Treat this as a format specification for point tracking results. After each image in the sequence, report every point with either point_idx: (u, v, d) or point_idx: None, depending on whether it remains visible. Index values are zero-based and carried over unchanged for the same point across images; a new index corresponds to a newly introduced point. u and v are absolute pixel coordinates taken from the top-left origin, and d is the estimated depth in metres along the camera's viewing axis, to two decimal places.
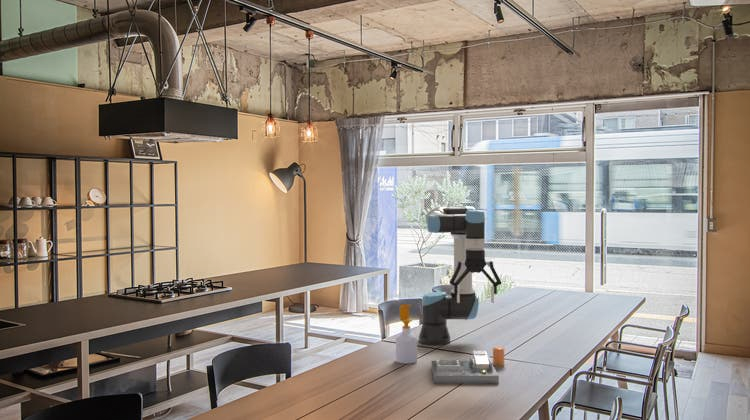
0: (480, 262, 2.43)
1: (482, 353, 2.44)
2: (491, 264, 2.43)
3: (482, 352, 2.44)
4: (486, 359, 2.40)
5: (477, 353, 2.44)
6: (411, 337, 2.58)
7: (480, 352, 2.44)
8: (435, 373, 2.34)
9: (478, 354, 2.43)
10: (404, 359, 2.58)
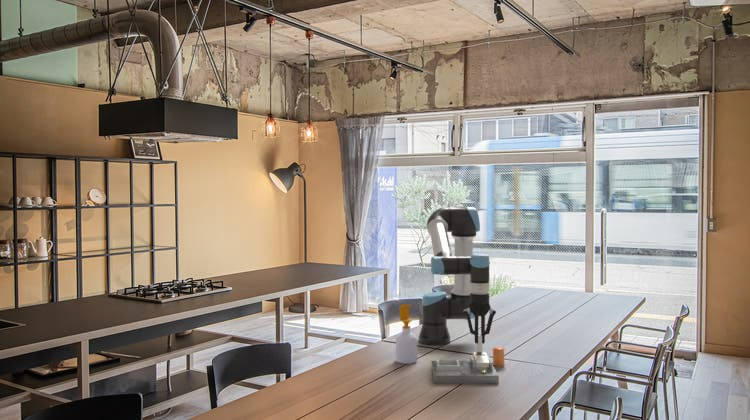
0: (486, 304, 2.44)
1: (482, 353, 2.44)
2: (493, 313, 2.44)
3: (482, 353, 2.45)
4: (486, 358, 2.40)
5: (477, 353, 2.44)
6: (411, 337, 2.58)
7: (480, 353, 2.44)
8: (435, 373, 2.34)
9: (478, 354, 2.44)
10: (404, 359, 2.58)
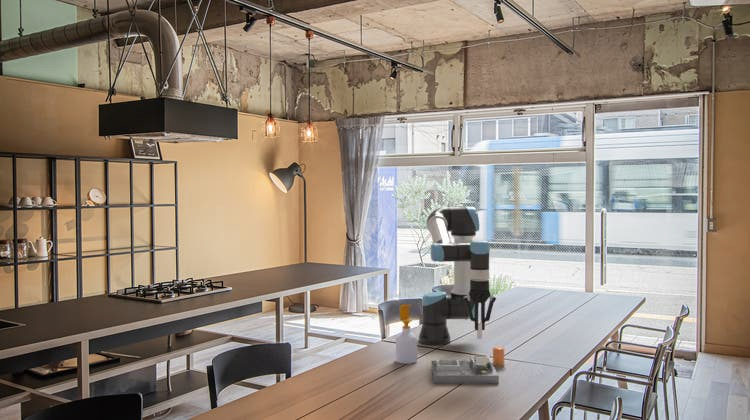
0: (486, 291, 2.43)
1: (482, 356, 2.45)
2: (493, 300, 2.43)
3: (482, 356, 2.45)
4: None
5: (477, 356, 2.45)
6: (411, 337, 2.58)
7: (480, 356, 2.45)
8: (435, 373, 2.34)
9: (478, 356, 2.44)
10: (404, 359, 2.58)
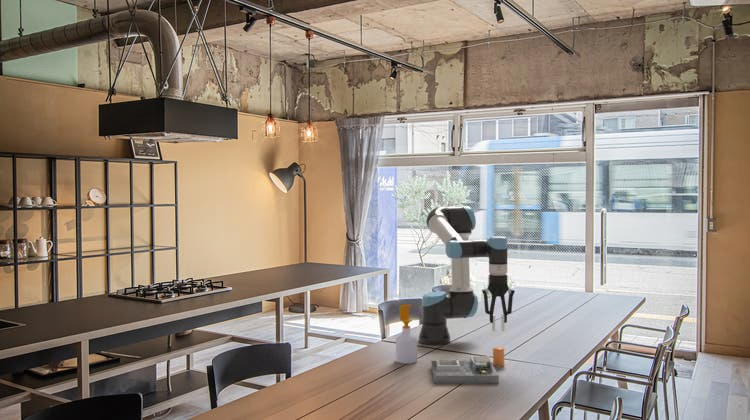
0: (504, 285, 2.52)
1: None
2: (512, 292, 2.52)
3: None
4: None
5: None
6: (411, 337, 2.58)
7: None
8: (435, 373, 2.34)
9: None
10: (404, 359, 2.58)
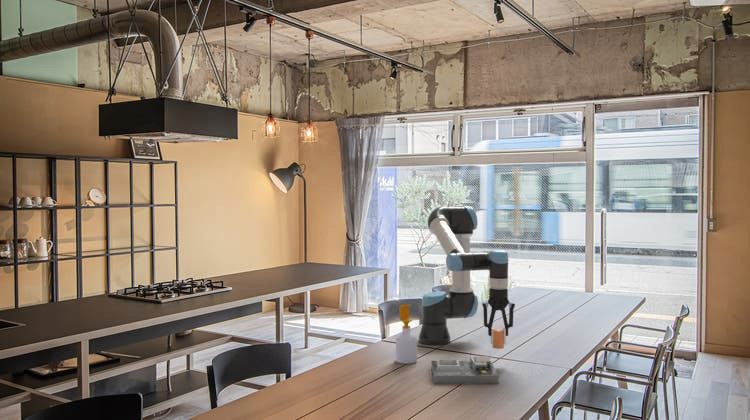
0: (504, 299, 2.53)
1: None
2: (512, 306, 2.53)
3: None
4: None
5: None
6: (411, 337, 2.58)
7: None
8: (435, 373, 2.34)
9: None
10: (404, 359, 2.58)
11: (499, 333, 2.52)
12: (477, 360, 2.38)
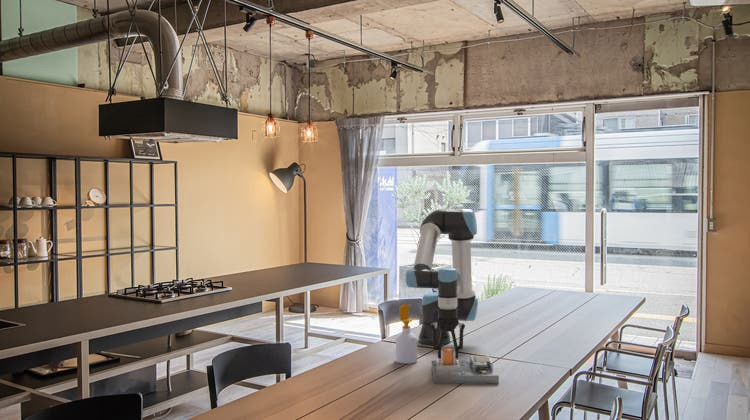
0: (453, 320, 2.41)
1: None
2: (462, 327, 2.40)
3: None
4: None
5: None
6: (411, 337, 2.58)
7: None
8: (435, 373, 2.34)
9: None
10: (404, 359, 2.58)
11: (448, 352, 2.40)
12: (477, 360, 2.38)
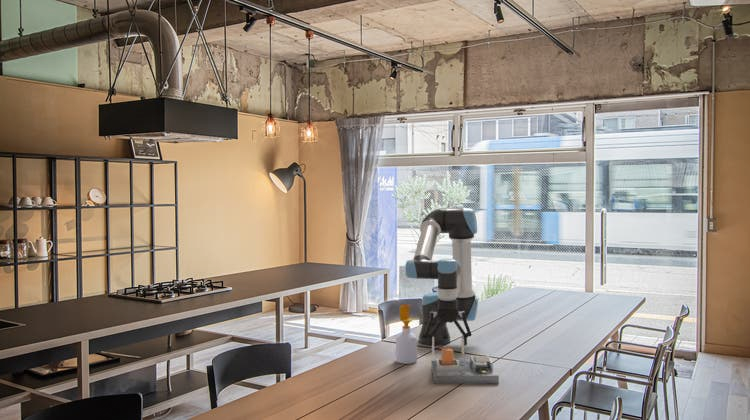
0: (452, 312, 2.41)
1: None
2: (463, 315, 2.41)
3: None
4: None
5: None
6: (411, 337, 2.58)
7: None
8: (435, 373, 2.34)
9: None
10: (404, 359, 2.58)
11: (448, 352, 2.40)
12: (477, 360, 2.38)
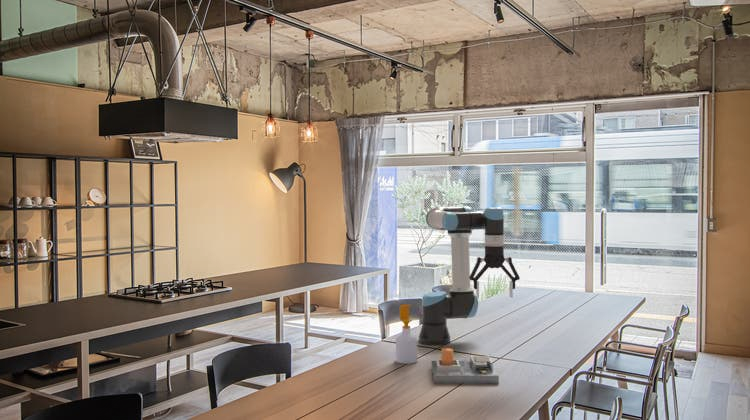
0: (499, 258, 2.50)
1: None
2: (510, 260, 2.50)
3: None
4: None
5: None
6: (411, 337, 2.58)
7: None
8: (435, 373, 2.34)
9: None
10: (404, 359, 2.58)
11: (448, 352, 2.40)
12: (477, 360, 2.38)
